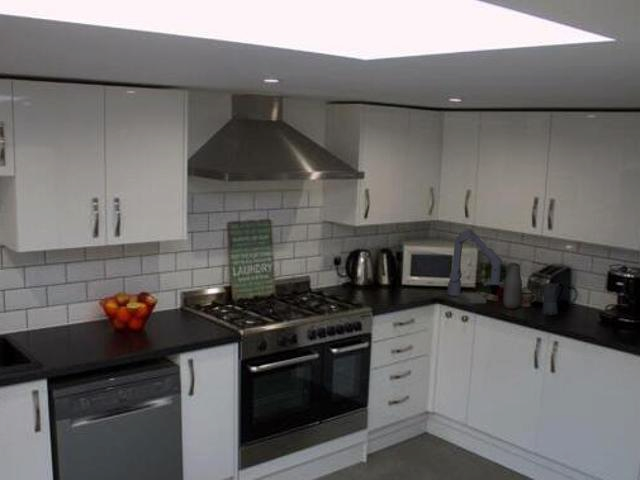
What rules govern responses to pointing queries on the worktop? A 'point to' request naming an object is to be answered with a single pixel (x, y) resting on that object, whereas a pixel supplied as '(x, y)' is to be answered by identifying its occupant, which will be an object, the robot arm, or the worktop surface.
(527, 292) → the teacup with lid
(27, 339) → the worktop surface
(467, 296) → the seat panel
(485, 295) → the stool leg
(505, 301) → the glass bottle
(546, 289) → the moka pot
